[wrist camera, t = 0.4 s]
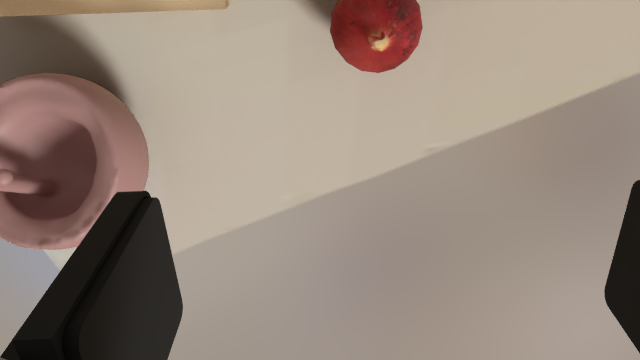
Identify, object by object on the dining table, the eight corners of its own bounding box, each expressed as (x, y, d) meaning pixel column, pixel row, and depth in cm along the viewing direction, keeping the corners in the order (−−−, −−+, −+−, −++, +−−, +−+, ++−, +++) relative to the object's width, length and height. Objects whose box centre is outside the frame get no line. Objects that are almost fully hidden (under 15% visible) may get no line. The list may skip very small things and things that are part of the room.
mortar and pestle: (114, 27, 38) (37, 75, 28) (194, 165, 43) (154, 247, 33) (-20, 87, 40) (-136, 152, 30) (72, 211, 45) (0, 302, 35)
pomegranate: (381, -48, 35) (395, -34, 28) (429, 20, 37) (452, 49, 30) (314, 8, 37) (311, 35, 30) (363, 70, 39) (371, 109, 32)
